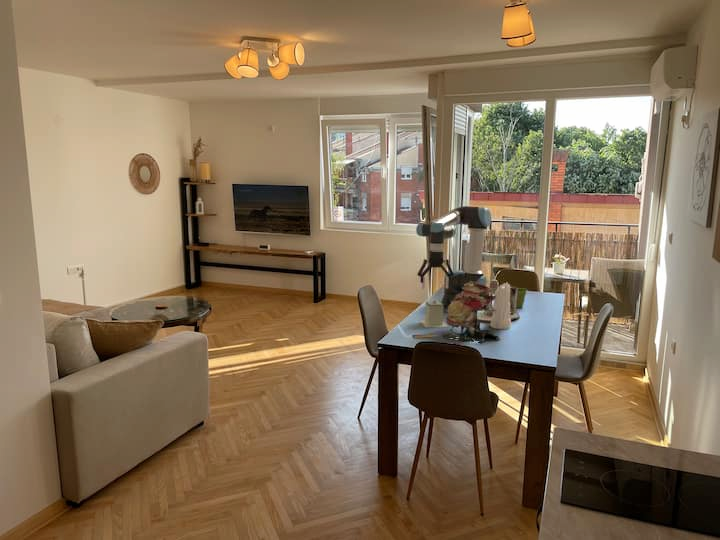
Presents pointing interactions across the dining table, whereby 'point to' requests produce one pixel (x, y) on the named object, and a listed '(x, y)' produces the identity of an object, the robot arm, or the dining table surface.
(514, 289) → the coffee box
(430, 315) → the sage cover
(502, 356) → the dining table surface
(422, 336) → the tan mat
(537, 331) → the dining table surface
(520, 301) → the plant pot
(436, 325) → the cream plate
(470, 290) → the rose bouquet
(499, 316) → the decorative vase
